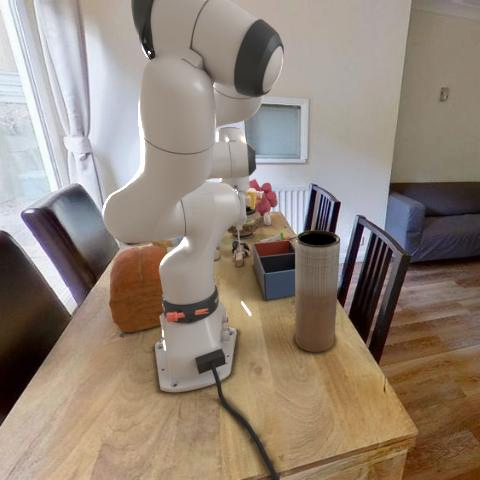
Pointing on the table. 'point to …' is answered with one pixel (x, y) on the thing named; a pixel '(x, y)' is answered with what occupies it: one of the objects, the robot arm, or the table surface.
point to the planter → (316, 289)
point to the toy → (264, 200)
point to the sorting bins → (275, 268)
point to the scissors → (290, 237)
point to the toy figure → (243, 253)
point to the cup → (273, 238)
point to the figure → (252, 197)
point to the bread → (137, 288)
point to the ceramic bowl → (247, 224)
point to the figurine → (167, 243)
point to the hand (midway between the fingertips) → (238, 226)
